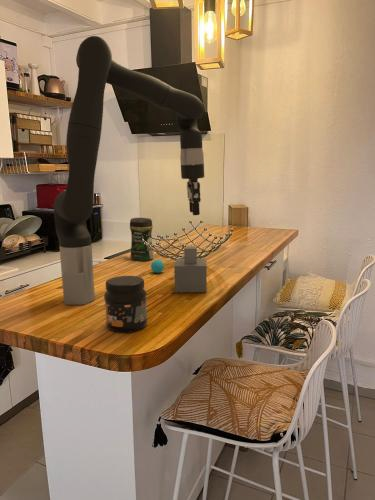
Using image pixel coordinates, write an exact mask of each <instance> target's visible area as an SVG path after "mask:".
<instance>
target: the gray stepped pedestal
mask: <svg viewBox="0 0 375 500" xmlns="http://www.w3.org/2000/svg"><path fill="white" fill-rule="evenodd" d="M197 249H198V247H197V246H195V245H194V246H192V245H191V246H189V245H188V246H187V245H186V246H184V248H183V257H184V258H176V259H175V262H174V293H175V294H177V292H208V291H207V289H208V288H207V287H208V286H207V284H208V283H207V281H208V280H207V276H208V275H207V272H208V270H207V269H208V268H207V259H206V258H197V255H198V253H197V252H198V250H197Z"/></svg>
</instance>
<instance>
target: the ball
mask: <svg viewBox="0 0 375 500" xmlns="http://www.w3.org/2000/svg"><path fill="white" fill-rule="evenodd" d="M150 268H151V271H152V272H153V273H155V274H160V273H162V272H163V271H164V268H165V264H164V262H163V261H162V260H159V259H156V260H153V261H152V262H151V265H150Z"/></svg>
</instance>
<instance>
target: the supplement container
mask: <svg viewBox="0 0 375 500" xmlns="http://www.w3.org/2000/svg"><path fill="white" fill-rule="evenodd" d="M105 290H106V291H105V292H104V295H103V296H104V304H105V305H104V307H105V309H104V310H105V324H106V328H108V329H109V330H111V331H113V332H116V333H131V332H136V331H139V330H141V329H143V328H144V327H145V326H146V325H147V323H148V317H147V316H148V313H147V311H148V309H147V296H148V295H147V291H146V289H145V279H144V278H143V277H141V276H136V275H119V276H114V277H111V278H109V279H106V281H105Z"/></svg>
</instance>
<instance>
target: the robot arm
mask: <svg viewBox="0 0 375 500" xmlns="http://www.w3.org/2000/svg"><path fill="white" fill-rule="evenodd" d="M75 57H76V60H75V61H76V66H77V68H78V76H77V78H78V79H77V85H76V86H77V87H76V92H75V94H74V97H73V102H72V105H71V109H70V112H69V113H70V114H69V117H68V123H67V129H66V143H65V144H66V155H67V156H66V157H67V161H68V163H67V164H68V176H67V177H68V179H67V182H66V189H65V190H63V191H61V192H60V193H59V194H58V195H56V196H55V199H54V202H53V203H54V204H53V214H54V215H53V216H54V223H55V225H54V226H55V232H56V236H57V239H58V244H59V245H58V246H59V255H60V256H59V257H60V259H59V260H60V270H61V272H60V273H61V283H62V284H61V285H62V294H63V302H64V305H65V306H66V305H67V306H71V305H72V306H73V305H77V306H82V305H83V306H85V305H87V304H89V303H91V302H94V300H95V299H96V295H95V294H96V293H95V281H94V280H95V279H94V267H93V266H94V264H93V246H92V235H91V234H90V232H89V230H88V227H87V222H86V221H87V220H88V219H90V217H91V215H92V213H93V209H94V189H95V188H94V187H95V185H94V183H95V174H96V169H97V161H98V154H99V148H100V142H101V135H102V128H103V127H102V126H103V117H104V97H105V90H106V84H108V85H110V86H114V87H116V88H119V89H121V90H124V91H126V92H128V93H130V94H133V95H135V96H137V97H139V98H140V99H143V100H144V101H146V102H149V103H150V104H152V105H154V106H156V107H158V108H159V109H161V110H166V111H167V110H169V111H173V112H174V113H175V116H176V118H175V119H176V125H177V128H178V132H179V136H180V137H179V140H180V143H179V144H180V146H179V147H180V155H179V157H180V159H179V161H180V178H181V179H182V180H188V181H187V182H186V192H187V193H186V195H187V199H188V205H189V206H188V207H189V212H190V213H192V216H200V203H201V201H202V199H201V183H200V182H199V180H198V179H204V178H205V160H204V159H205V158H204V151H203V135H202V131H201V130H199V127H198V120H199V119H201V117H202V116H203V114H204V112H205V106H204V105H205V104H204V103H203V102H202V100H201V99H200V98H199V97H197V96H196V95H195V94H192V93H190V92H186V91H184V90H181V89H179V88H178V89H177V88H175V87H173V86H171V85H170V84H168V83H166V82H164V81H162V80H161V79H159V78H157V77H154V76H152V75H149V74H146V73H144V72H139V71H135V70H131V69H129V68H127V67H125V66H123V65H121V64H119V63H117V62H116V61H115V60H113V53H112V50H111V47H110V45H109V44H108V43H107V41H106V40H105V39H104V38H103V37H100V36H97V35H92V36H88V37H86V38H85V39H84V40H83V41H81V43H80V44H79V47H78V49H77V52H76V56H75Z"/></svg>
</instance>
